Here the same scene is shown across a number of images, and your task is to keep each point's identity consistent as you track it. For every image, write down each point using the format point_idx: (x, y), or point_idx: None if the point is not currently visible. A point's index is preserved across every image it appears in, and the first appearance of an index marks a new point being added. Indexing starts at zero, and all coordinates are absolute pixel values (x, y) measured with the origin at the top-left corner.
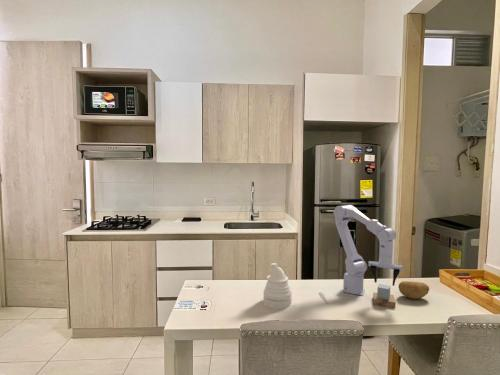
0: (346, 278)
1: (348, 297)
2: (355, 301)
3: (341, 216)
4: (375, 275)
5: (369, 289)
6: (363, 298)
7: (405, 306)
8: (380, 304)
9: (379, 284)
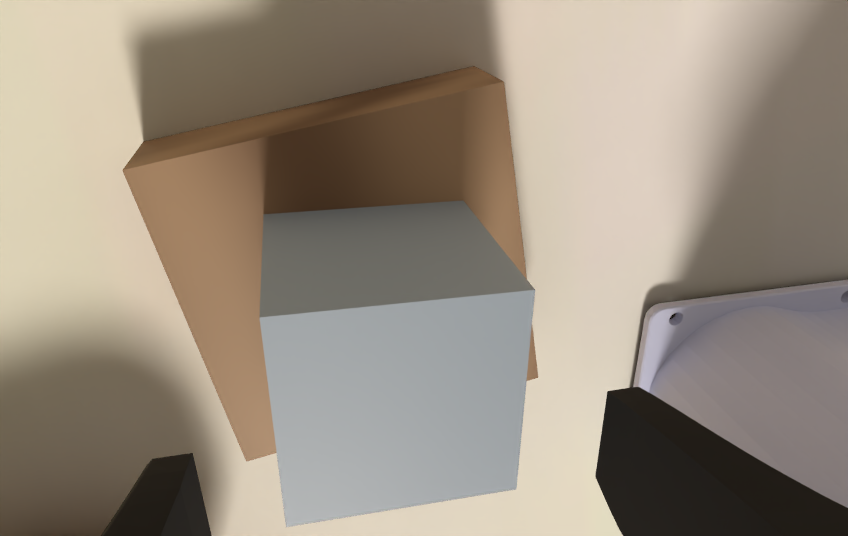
0: None
1: (819, 144)
2: (736, 48)
3: None
4: (775, 518)
5: (568, 530)
6: (628, 229)
7: (23, 295)
8: (379, 94)
9: (506, 465)
